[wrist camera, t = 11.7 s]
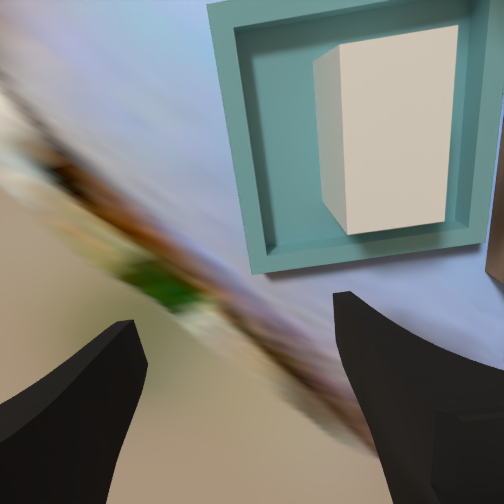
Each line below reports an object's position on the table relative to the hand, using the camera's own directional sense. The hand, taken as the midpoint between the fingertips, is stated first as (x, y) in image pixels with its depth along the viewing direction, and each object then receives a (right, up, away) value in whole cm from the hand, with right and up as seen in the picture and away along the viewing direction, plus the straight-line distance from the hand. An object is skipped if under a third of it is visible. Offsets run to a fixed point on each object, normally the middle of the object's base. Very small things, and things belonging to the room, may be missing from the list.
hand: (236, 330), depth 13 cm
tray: (+6, +9, +6) cm, 13 cm away
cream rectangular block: (+6, +9, +6) cm, 12 cm away
